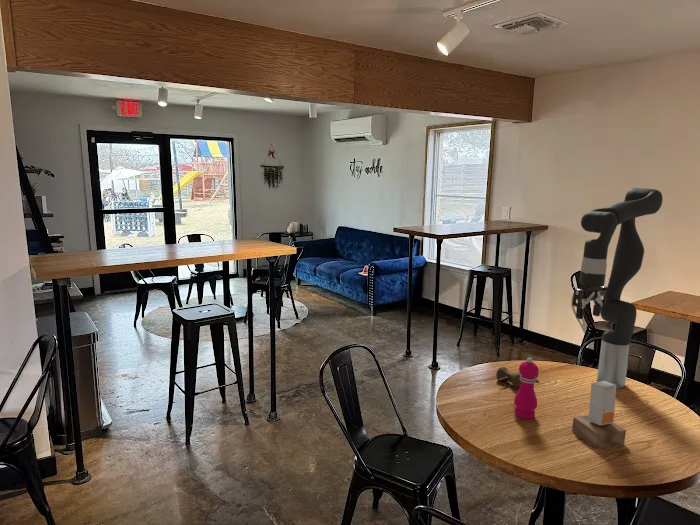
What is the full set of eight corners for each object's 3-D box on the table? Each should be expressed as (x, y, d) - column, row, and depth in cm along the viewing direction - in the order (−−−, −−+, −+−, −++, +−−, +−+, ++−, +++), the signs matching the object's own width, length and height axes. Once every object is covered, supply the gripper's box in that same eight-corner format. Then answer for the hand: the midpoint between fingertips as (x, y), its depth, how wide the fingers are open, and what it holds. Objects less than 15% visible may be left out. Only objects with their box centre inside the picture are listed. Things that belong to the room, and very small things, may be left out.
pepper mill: (509, 414, 155) (514, 357, 151) (518, 407, 160) (523, 352, 156) (530, 422, 150) (536, 363, 146) (539, 414, 155) (545, 357, 151)
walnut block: (598, 428, 148) (600, 413, 147) (623, 445, 138) (626, 430, 137) (571, 431, 146) (573, 417, 145) (595, 449, 136) (597, 434, 135)
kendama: (543, 383, 181) (508, 392, 171) (523, 374, 189) (488, 383, 179) (545, 368, 180) (509, 376, 170) (524, 360, 188) (489, 368, 178)
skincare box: (600, 426, 138) (603, 386, 137) (588, 421, 142) (590, 382, 141) (614, 423, 140) (617, 384, 140) (601, 418, 144) (604, 380, 144)
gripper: (596, 267, 163) (591, 312, 166) (569, 270, 157) (564, 316, 160) (617, 271, 157) (611, 318, 159) (589, 274, 150) (583, 322, 153)
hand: (587, 317), depth 160 cm, fingers open, 8 cm apart
